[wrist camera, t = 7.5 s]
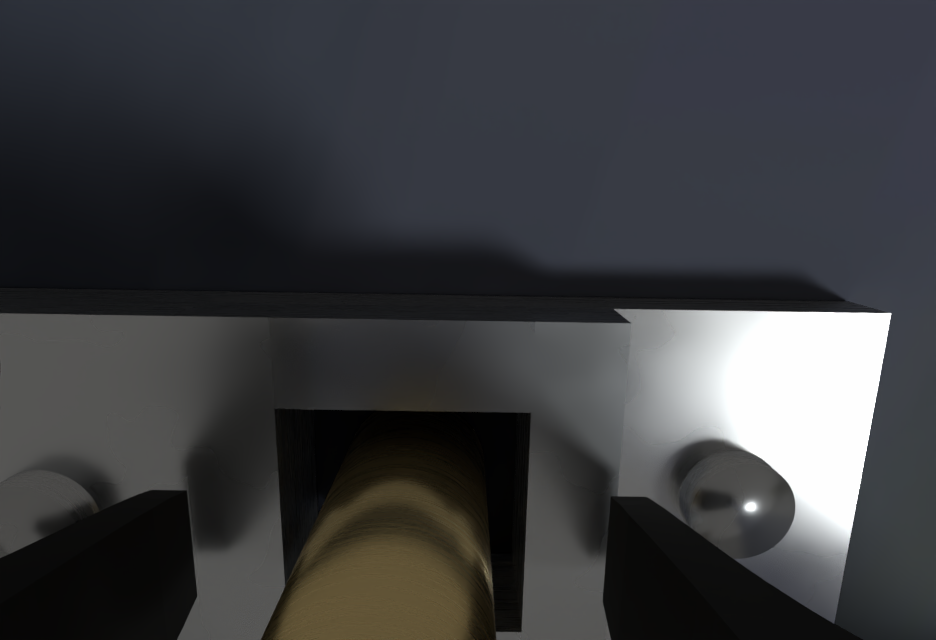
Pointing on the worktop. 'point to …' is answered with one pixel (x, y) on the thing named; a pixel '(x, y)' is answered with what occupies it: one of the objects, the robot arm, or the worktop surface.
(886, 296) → the worktop surface
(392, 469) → the brass pin
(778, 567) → the notched mounting plate
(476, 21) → the worktop surface
